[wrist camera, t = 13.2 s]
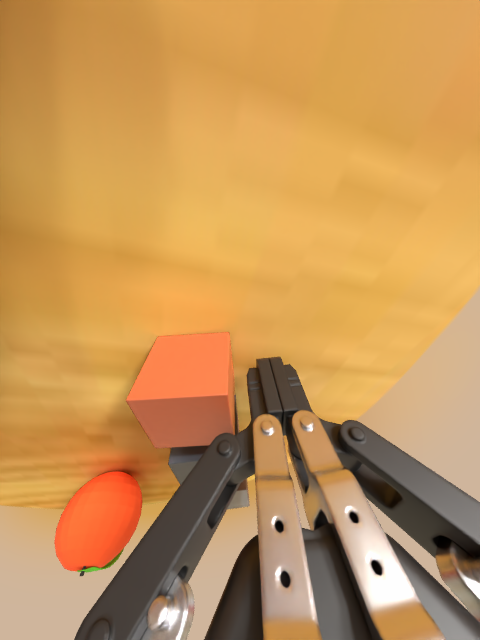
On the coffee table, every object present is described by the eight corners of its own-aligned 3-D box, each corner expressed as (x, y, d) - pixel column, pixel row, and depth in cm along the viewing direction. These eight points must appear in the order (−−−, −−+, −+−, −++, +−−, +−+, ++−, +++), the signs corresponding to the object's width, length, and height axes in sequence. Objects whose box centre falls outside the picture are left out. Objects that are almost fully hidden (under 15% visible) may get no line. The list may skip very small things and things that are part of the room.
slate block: (190, 429, 19) (183, 489, 15) (179, 399, 16) (167, 464, 12) (238, 423, 19) (243, 482, 15) (235, 394, 16) (240, 455, 12)
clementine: (166, 479, 24) (150, 573, 19) (117, 492, 25) (86, 585, 19) (125, 453, 20) (86, 564, 14) (67, 469, 21) (6, 581, 15)
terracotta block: (174, 383, 15) (154, 448, 11) (157, 336, 12) (124, 400, 9) (234, 379, 15) (234, 444, 11) (229, 331, 12) (227, 394, 9)
